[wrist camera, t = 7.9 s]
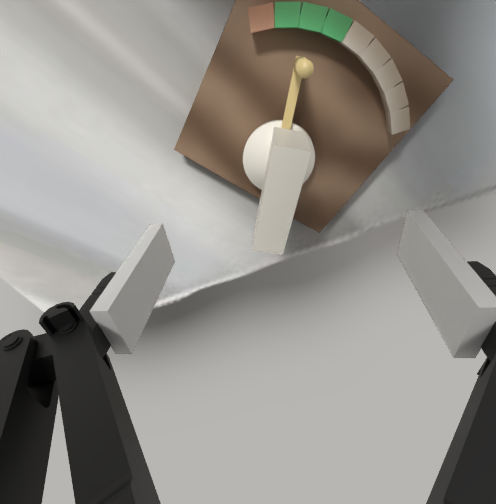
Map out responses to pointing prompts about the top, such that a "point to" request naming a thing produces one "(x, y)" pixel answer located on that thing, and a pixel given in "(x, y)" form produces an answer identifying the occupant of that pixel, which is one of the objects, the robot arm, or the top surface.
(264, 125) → the peg
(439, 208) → the top surface
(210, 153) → the wooden base board
